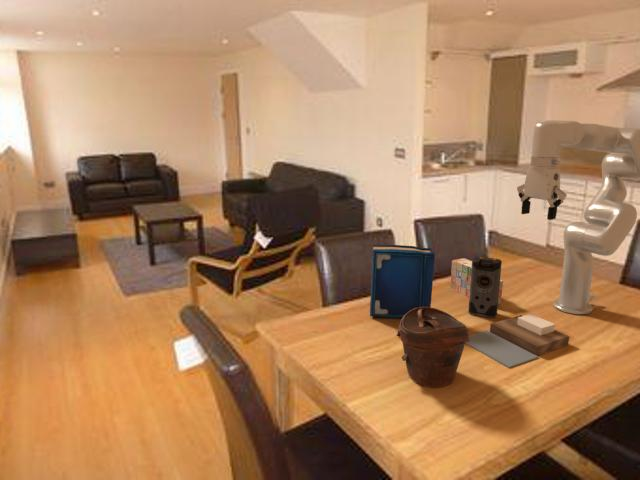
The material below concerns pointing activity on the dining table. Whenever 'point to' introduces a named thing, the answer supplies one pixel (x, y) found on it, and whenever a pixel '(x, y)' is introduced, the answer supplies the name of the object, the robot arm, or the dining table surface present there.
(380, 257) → the book
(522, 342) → the plate
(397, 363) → the dining table surface
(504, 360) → the mat
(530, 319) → the tile
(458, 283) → the stack of blocks
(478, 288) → the electronic device
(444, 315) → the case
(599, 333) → the dining table surface
